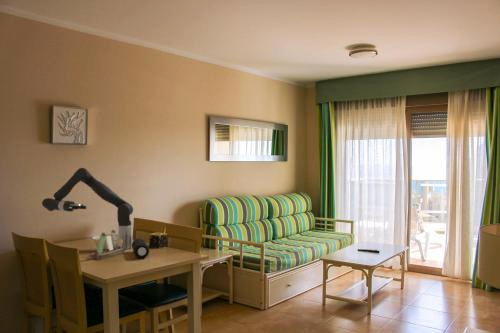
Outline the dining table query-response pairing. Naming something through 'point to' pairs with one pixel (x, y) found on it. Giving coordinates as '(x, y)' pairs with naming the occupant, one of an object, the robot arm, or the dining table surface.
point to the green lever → (101, 243)
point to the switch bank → (107, 253)
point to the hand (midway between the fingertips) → (85, 207)
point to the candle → (158, 239)
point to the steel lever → (114, 239)
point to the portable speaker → (140, 248)
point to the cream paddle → (109, 243)
